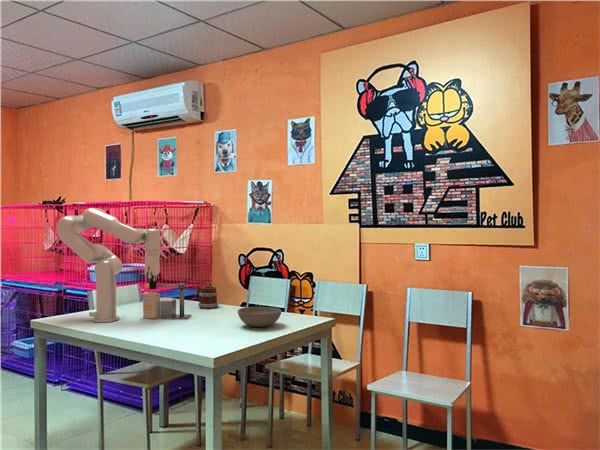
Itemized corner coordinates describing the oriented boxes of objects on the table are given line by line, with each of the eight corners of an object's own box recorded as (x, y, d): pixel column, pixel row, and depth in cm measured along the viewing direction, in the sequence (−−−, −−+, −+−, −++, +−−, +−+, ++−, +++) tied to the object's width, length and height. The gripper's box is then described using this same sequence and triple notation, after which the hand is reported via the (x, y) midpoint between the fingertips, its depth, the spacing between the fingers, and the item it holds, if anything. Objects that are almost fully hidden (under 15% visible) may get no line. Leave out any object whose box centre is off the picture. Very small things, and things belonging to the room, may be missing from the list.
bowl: (232, 323, 238) (232, 307, 238) (272, 320, 247) (272, 304, 247) (245, 332, 219) (245, 315, 219) (287, 328, 227) (287, 311, 227)
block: (160, 318, 250) (160, 301, 250) (165, 315, 258) (164, 298, 258) (171, 318, 250) (171, 301, 250) (176, 315, 258) (176, 298, 258)
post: (172, 319, 249) (171, 289, 249) (176, 316, 257) (176, 287, 257) (187, 319, 249) (187, 289, 249) (191, 316, 257) (191, 287, 257)
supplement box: (160, 317, 253) (160, 292, 253) (153, 319, 249) (153, 294, 249) (150, 316, 258) (149, 291, 258) (142, 317, 254) (142, 292, 254)
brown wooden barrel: (208, 309, 274) (205, 283, 276) (192, 311, 283) (189, 286, 284) (223, 306, 284) (220, 281, 285) (207, 308, 292) (204, 283, 293)
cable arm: (145, 287, 252) (145, 283, 252) (147, 286, 255) (147, 283, 255) (184, 287, 251) (184, 283, 251) (186, 286, 255) (186, 283, 255)
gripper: (150, 252, 254) (150, 287, 254) (140, 254, 239) (140, 291, 239) (164, 252, 254) (164, 287, 254) (155, 254, 239) (155, 291, 239)
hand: (152, 288), depth 247 cm, fingers closed
